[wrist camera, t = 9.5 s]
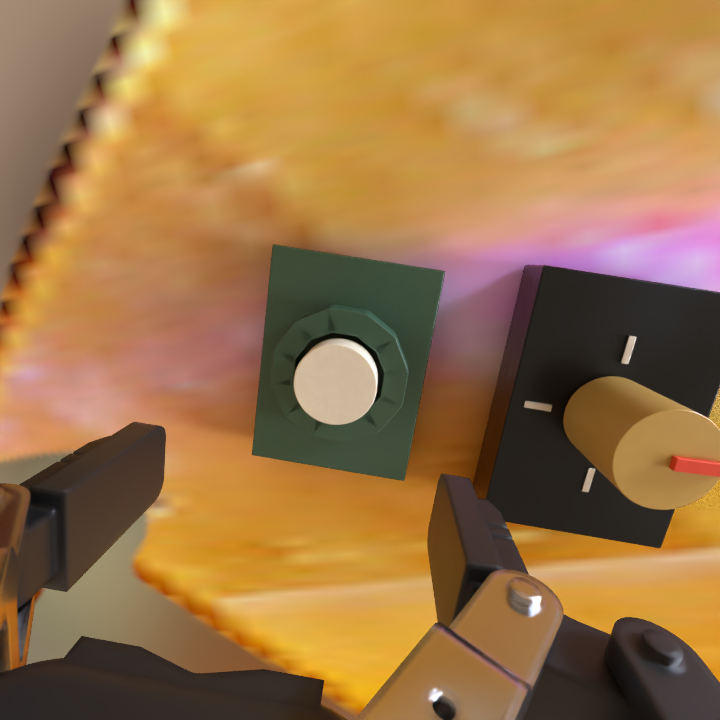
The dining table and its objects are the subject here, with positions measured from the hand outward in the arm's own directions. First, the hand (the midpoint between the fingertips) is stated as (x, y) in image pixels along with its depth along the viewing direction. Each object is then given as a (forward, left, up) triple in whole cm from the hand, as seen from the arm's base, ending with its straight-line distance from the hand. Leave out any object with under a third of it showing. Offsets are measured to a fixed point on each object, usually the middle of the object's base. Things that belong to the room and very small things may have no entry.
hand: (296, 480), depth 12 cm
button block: (0, 0, -14) cm, 14 cm away
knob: (0, +14, -11) cm, 18 cm away
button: (0, 0, -10) cm, 10 cm away
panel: (0, +14, -14) cm, 20 cm away
